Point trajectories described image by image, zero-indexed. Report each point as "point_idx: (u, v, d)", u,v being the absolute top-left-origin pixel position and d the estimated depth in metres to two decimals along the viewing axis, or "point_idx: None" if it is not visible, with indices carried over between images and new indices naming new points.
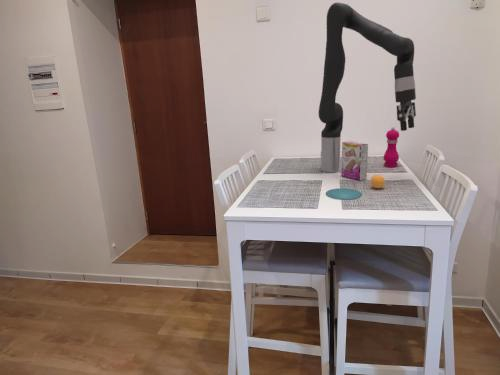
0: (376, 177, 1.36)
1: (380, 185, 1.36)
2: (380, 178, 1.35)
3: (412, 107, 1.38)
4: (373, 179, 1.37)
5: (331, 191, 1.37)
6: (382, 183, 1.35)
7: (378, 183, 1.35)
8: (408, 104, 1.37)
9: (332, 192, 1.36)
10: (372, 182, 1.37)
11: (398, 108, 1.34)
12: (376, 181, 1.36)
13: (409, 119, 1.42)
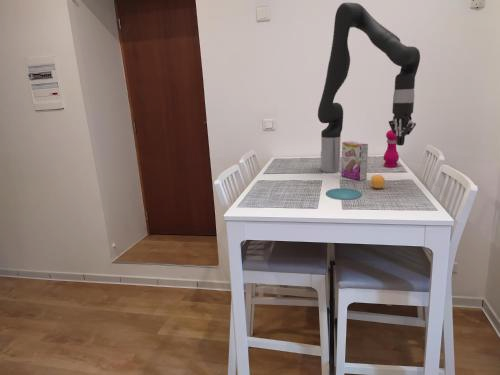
0: (376, 177, 1.36)
1: (380, 185, 1.36)
2: (380, 178, 1.35)
3: None
4: (373, 179, 1.37)
5: (331, 191, 1.37)
6: (382, 183, 1.35)
7: (378, 183, 1.35)
8: None
9: (332, 192, 1.36)
10: (372, 182, 1.37)
11: (411, 127, 1.29)
12: (376, 181, 1.36)
13: None
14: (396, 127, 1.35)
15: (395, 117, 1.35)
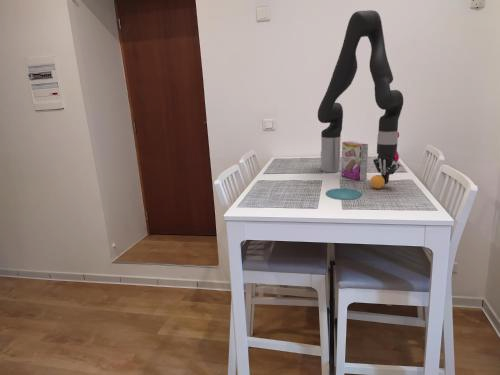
0: (376, 177, 1.36)
1: (380, 185, 1.36)
2: (380, 178, 1.35)
3: None
4: (373, 179, 1.37)
5: (331, 191, 1.37)
6: (382, 183, 1.35)
7: (378, 183, 1.35)
8: None
9: (332, 192, 1.36)
10: (372, 182, 1.37)
11: (395, 168, 1.32)
12: (376, 181, 1.35)
13: None
14: (380, 166, 1.38)
15: (379, 156, 1.38)
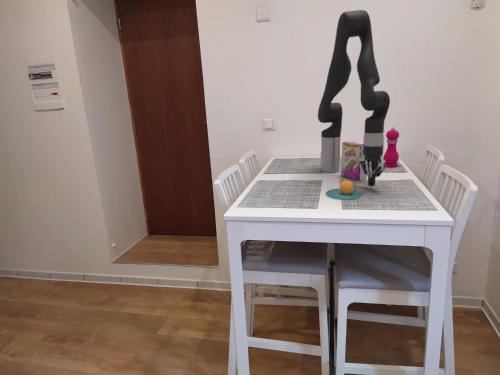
0: (352, 183, 1.32)
1: (347, 187, 1.30)
2: (353, 186, 1.31)
3: None
4: (349, 181, 1.32)
5: (331, 191, 1.37)
6: (350, 189, 1.30)
7: (349, 184, 1.30)
8: None
9: (332, 192, 1.36)
10: (346, 180, 1.32)
11: (380, 170, 1.30)
12: (350, 182, 1.31)
13: None
14: (367, 168, 1.36)
15: (366, 158, 1.36)
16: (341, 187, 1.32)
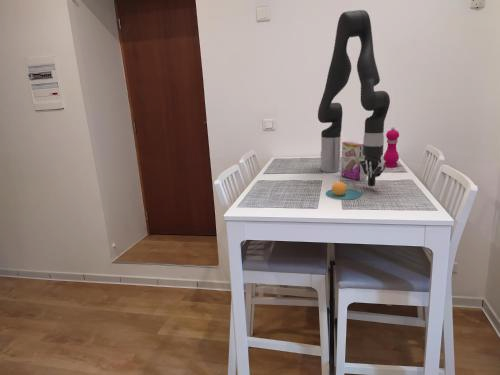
0: (338, 183, 1.30)
1: (340, 192, 1.30)
2: (342, 185, 1.30)
3: None
4: (335, 185, 1.31)
5: (331, 191, 1.37)
6: (342, 191, 1.30)
7: (338, 190, 1.29)
8: None
9: (332, 192, 1.36)
10: (333, 188, 1.31)
11: (380, 170, 1.30)
12: (337, 187, 1.30)
13: None
14: (367, 168, 1.36)
15: (366, 158, 1.36)
16: None
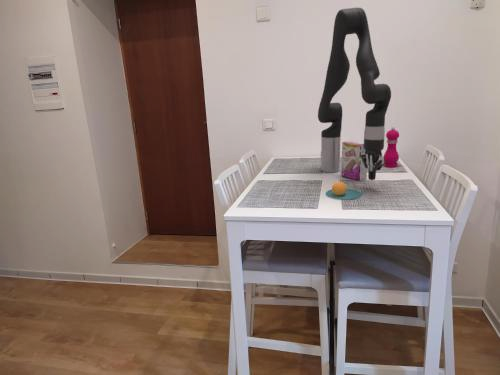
0: (338, 183, 1.30)
1: (340, 192, 1.30)
2: (341, 185, 1.30)
3: None
4: (334, 185, 1.31)
5: (331, 191, 1.37)
6: (342, 191, 1.30)
7: (338, 190, 1.29)
8: None
9: (332, 192, 1.36)
10: (333, 188, 1.31)
11: (381, 163, 1.29)
12: (337, 187, 1.30)
13: None
14: (367, 162, 1.35)
15: (366, 152, 1.36)
16: None
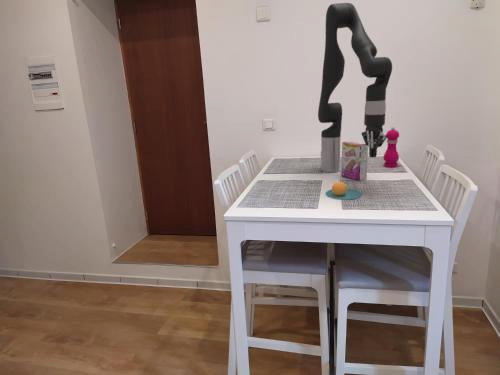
0: (338, 183, 1.30)
1: (340, 192, 1.30)
2: (341, 185, 1.30)
3: None
4: (334, 185, 1.31)
5: (331, 191, 1.37)
6: (342, 191, 1.30)
7: (338, 190, 1.29)
8: None
9: (332, 192, 1.36)
10: (333, 188, 1.31)
11: (382, 139, 1.26)
12: (337, 187, 1.30)
13: None
14: (368, 139, 1.32)
15: (367, 128, 1.33)
16: None
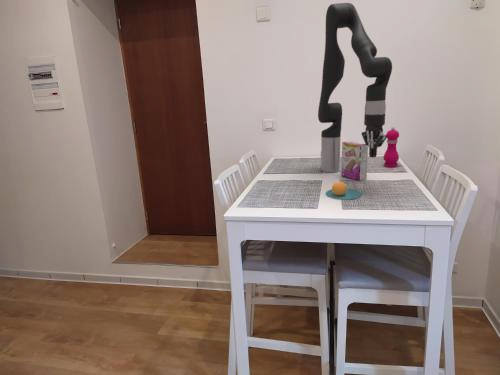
0: (338, 183, 1.30)
1: (340, 192, 1.30)
2: (341, 185, 1.30)
3: None
4: (334, 185, 1.31)
5: (331, 191, 1.37)
6: (342, 191, 1.30)
7: (338, 190, 1.29)
8: None
9: (332, 192, 1.36)
10: (333, 188, 1.31)
11: (382, 139, 1.26)
12: (337, 187, 1.30)
13: None
14: (368, 139, 1.32)
15: (367, 128, 1.33)
16: None
